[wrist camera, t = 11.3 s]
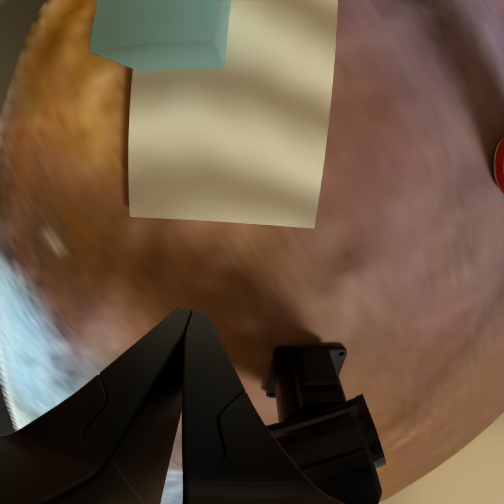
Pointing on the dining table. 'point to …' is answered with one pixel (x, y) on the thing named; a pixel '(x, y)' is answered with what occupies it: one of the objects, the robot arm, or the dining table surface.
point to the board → (239, 122)
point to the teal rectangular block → (162, 33)
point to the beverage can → (499, 165)
